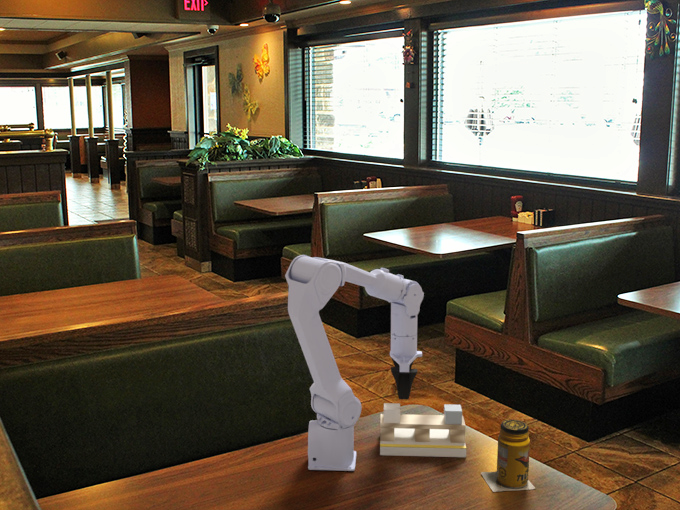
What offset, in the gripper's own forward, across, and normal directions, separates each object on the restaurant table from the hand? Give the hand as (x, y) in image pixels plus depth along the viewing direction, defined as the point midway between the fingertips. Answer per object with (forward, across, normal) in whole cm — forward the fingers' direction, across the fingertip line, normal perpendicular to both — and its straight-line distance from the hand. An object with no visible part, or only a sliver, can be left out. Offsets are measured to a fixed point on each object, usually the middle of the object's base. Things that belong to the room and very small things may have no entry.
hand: (403, 391), depth 155 cm
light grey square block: (+4, -5, -10) cm, 12 cm away
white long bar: (+8, -4, -4) cm, 10 cm away
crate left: (+4, -5, +2) cm, 7 cm away
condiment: (+11, -19, -20) cm, 30 cm away
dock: (+10, -4, -4) cm, 12 cm away
